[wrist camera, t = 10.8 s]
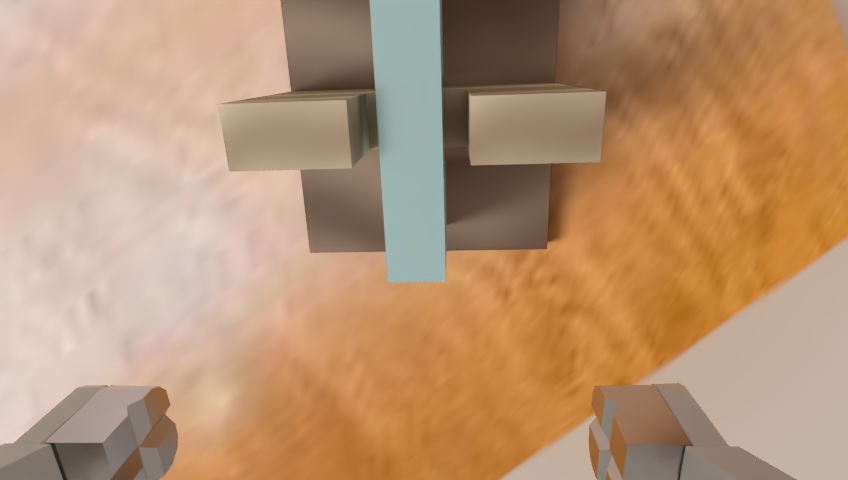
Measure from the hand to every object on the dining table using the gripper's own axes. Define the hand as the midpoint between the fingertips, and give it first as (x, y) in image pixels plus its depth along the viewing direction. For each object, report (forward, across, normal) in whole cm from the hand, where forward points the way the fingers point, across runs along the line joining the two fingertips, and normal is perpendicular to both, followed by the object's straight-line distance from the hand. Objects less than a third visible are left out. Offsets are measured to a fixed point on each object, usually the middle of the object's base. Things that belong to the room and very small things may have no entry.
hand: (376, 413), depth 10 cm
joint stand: (+21, 0, -4) cm, 21 cm away
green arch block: (+20, 0, -3) cm, 20 cm away
